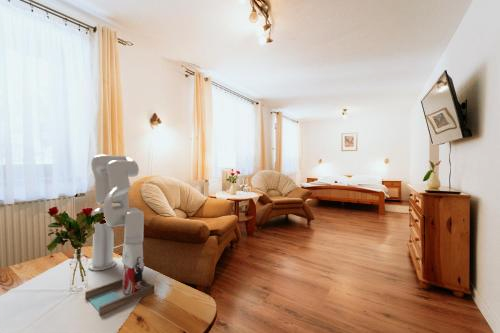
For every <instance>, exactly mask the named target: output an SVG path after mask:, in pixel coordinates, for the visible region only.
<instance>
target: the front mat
mask: <svg viewBox="0 0 500 333" xmlns="http://www.w3.org/2000/svg"><path fill="white" fill-rule="evenodd" d="M119 298H121V297H120V295H118V294H117V293H116V292H115V290H111V291H108V292H105V293H103V294H100V295H97V296H94V297H92V298H89V299H87V300H88V302H89V303H90V304H91V305H92V306H93V307H94V308H95V309H96V310H97V312H98V313H99V306H102V305H104V304H107V303H109V302H112V301H114V300H117V299H119Z"/></svg>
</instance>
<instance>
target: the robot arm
mask: <svg viewBox="0 0 500 333" xmlns="http://www.w3.org/2000/svg"><path fill="white" fill-rule="evenodd" d="M90 166H91V170H92V173H93V177H94V181H95V182H94V185H95V186H94V188H95V189H94V196H95V198H94V199H95V200H94V201H95V202H96V204H97V205H102V206H103V207H98V208H96V209H94V210H93V211H92V213H91V216H92V215H95V214H97V213H101V212H103V213H104V217H105V221H106V223H104V224H100V223H96V224H94V227H95V233H94V234H93V233H92V251H91V252H92V253H91V254H92V255H91V256H92V257H91V263H89V264H88V270H91V271H95V272H97V271H103V270H107V269H110V268H112V267H114V266H115V265H116V264H117V260H116V259H114V243H115V242H114V240H115V239H114V238H115V237H114V236H115V232H114V230H113V227H121V226H124V230H123V231H124V232H123V233H124V234H123V236H124V238H123V246H122V256H121V258H122V259H121V263H122V264H123V269H124V268H125V265H126V266H128V267H129V268H131V269H132V268H134V270H135V273H134V283H137V282H139V281H142V278H143V271H144V268H145V262H144V247H143V242H144V227H145V226H144V225H145V221H144V220H145V219H144V218H145V213H144V212H143V210H139V209H138V208H137V207H129V206H130V204H129V203H130V197H129V196H130V195H129V191H130V190H131V183H130V179H129V177H130V178H131V177H132V178H133V177H136V176H138V175H139V172H140V169H139V165H138V163H137V162H136V161H135V160H134V159H133V158H130V157H129V156H128V155H127V156H126V155H114V154H113V155H112V154H98V155H95V156H94V157H93V158H92V159H91V165H90ZM113 204H115V205H113ZM116 204H117V205H116ZM137 264H138V265H137ZM137 267H139V268H138V270H137Z"/></svg>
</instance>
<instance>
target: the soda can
mask: <svg viewBox="0 0 500 333" xmlns="http://www.w3.org/2000/svg"><path fill="white" fill-rule="evenodd" d="M137 265H138V264H137ZM124 267H125V268H124ZM124 267H123V272H122V279H123V286H122V293H124V294H126V295H129V294H131V293H134V292H136V291H139V290H141V281H139V282H137V283H134V273H135V270H134V268H132V269H131V268H129V267H128V266H126V265H125V266H124ZM138 268H139V267H137V270H138Z"/></svg>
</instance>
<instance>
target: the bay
mask: <svg viewBox="0 0 500 333" xmlns="http://www.w3.org/2000/svg"><path fill="white" fill-rule="evenodd" d="M141 285H142V289H141V288H140V289H139V290H138V291H136V292H134V293H131V294H126V295H124V296H122V297H120V298H119V299H117V300H114V301H112V302H109V303H107V304H104V305H102V306H99V312H98V315H99V316H100V317H101V316H103V315H105V314H107V313H109V312H112V311H114V310H117V309H119V308H122V307H123V306H126V305H128V304H130V302H131V303H132V302H135V301H137V300H139V299H142V298H144V297H146V296H148V295H151V294H154V293H155V284H153V283H152V282H150V281H149V280H148V279H146V278H144V277H142V281H141ZM141 285H140V286H141ZM144 287H145V288H144ZM118 288H123V278H121V279H118V280H115V281H112V282H109V283H106V284H102V285H100V286H97V287H95V288H92V289H89V290H86V291H85V294H84V296H85V298H84V299H85V300H86V299H87V300H88V299H89V298H92V297H94V296H97V295H100V294H103V293H105V292H108V291H111V290H113V291H115V290H116V289H118Z"/></svg>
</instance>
